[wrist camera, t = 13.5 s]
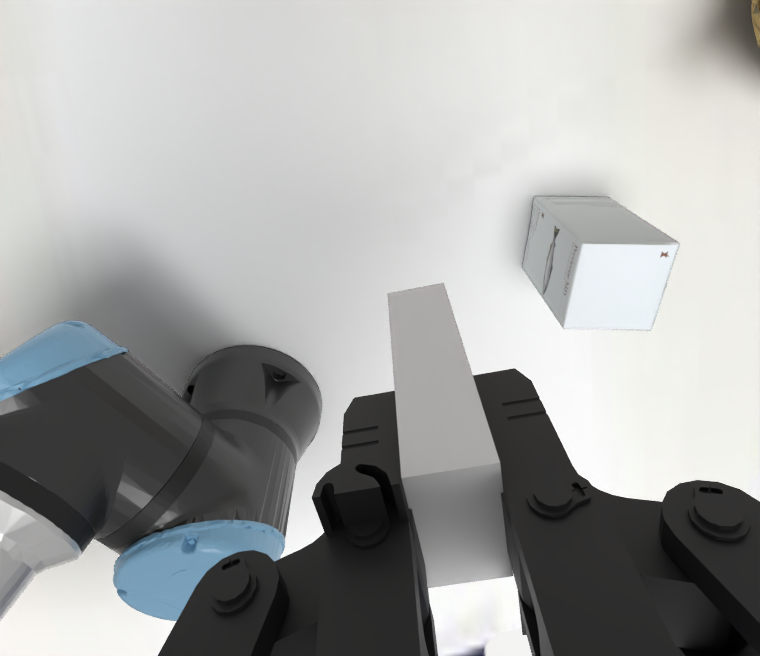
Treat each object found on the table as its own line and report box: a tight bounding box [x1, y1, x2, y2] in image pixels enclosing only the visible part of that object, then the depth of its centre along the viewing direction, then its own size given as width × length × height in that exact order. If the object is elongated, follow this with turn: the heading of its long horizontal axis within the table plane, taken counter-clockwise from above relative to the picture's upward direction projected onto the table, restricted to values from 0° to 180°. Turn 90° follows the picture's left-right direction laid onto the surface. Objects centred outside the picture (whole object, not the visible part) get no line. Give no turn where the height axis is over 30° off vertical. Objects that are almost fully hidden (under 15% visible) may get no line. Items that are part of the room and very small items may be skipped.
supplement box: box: [522, 196, 680, 331], centre depth 43 cm, size 7×7×13 cm
